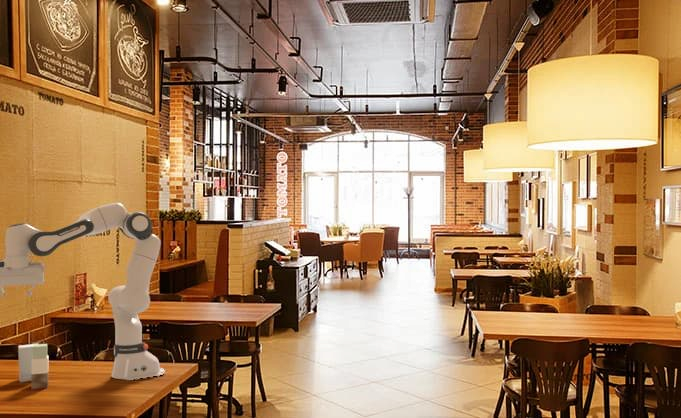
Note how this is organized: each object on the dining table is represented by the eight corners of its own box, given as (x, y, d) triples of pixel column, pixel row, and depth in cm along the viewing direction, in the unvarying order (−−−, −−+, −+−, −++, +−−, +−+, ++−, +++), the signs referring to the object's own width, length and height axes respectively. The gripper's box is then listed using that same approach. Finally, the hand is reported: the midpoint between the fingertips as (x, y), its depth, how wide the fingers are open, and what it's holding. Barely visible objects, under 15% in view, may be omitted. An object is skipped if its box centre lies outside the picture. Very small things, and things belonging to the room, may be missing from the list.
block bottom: (48, 384, 269) (48, 369, 269) (47, 387, 263) (47, 373, 263) (32, 385, 267) (32, 370, 267) (31, 389, 261) (31, 374, 261)
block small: (47, 355, 268) (47, 343, 268) (46, 358, 264) (46, 346, 264) (34, 356, 266) (34, 344, 266) (33, 359, 262) (33, 346, 262)
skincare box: (39, 377, 280) (39, 342, 280) (40, 380, 275) (40, 345, 275) (17, 379, 276) (18, 344, 276) (18, 382, 271) (18, 347, 271)
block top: (48, 369, 269) (48, 355, 269) (47, 373, 263) (47, 358, 263) (32, 370, 267) (32, 356, 267) (31, 374, 261) (31, 359, 261)
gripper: (45, 261, 272) (45, 294, 272) (-10, 262, 265) (-10, 296, 265) (44, 262, 266) (44, 295, 266) (-12, 263, 259) (-12, 298, 259)
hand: (17, 296), depth 265 cm, fingers open, 8 cm apart
